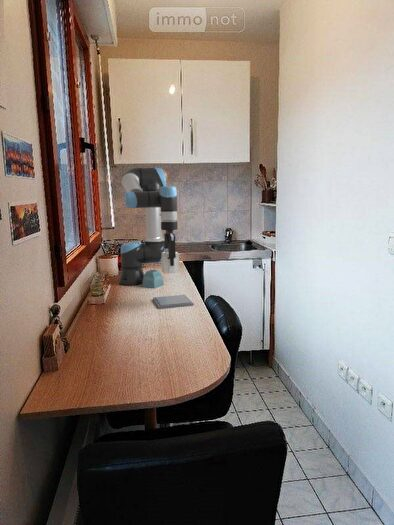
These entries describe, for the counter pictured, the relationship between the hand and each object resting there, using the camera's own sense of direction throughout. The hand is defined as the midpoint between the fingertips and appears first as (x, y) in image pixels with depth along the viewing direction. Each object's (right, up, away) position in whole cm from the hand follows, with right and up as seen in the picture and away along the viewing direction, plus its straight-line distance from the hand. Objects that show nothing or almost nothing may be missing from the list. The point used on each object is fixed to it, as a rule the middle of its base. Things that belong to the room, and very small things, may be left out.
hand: (170, 271), depth 175 cm
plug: (0, 0, 0) cm, 0 cm away
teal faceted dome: (-12, 0, +34) cm, 36 cm away
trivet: (+1, -15, +3) cm, 15 cm away
